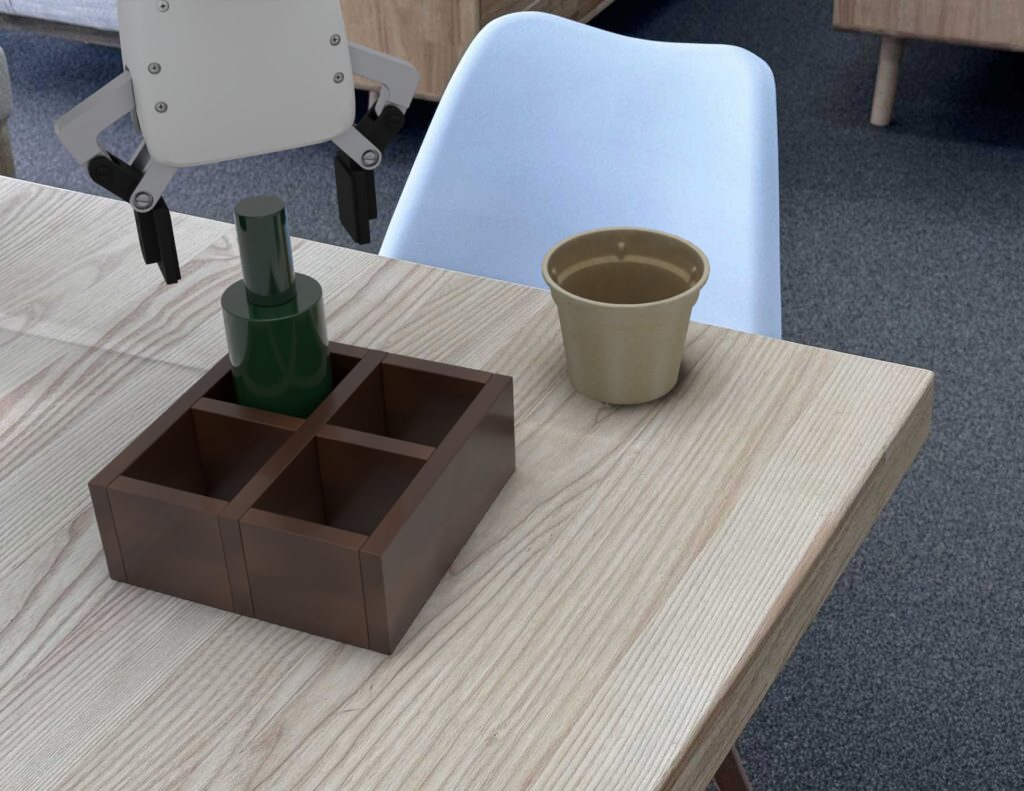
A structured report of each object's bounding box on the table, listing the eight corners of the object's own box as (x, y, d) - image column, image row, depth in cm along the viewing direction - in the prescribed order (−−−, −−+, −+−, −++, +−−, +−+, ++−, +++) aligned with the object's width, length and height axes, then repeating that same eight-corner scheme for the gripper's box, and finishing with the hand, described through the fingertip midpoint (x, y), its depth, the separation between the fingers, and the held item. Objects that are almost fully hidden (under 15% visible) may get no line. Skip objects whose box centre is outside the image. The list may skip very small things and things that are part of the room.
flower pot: (697, 444, 79) (705, 310, 74) (532, 431, 80) (529, 299, 75) (706, 356, 86) (714, 230, 82) (555, 346, 88) (554, 222, 83)
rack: (109, 578, 70) (86, 482, 67) (268, 414, 82) (255, 325, 79) (390, 655, 65) (380, 555, 62) (516, 467, 77) (513, 376, 74)
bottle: (230, 484, 77) (185, 220, 68) (278, 433, 81) (241, 177, 72) (314, 504, 75) (278, 236, 66) (358, 451, 79) (330, 191, 70)
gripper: (378, -137, 67) (401, 192, 76) (2, -93, 61) (77, 255, 71) (433, -101, 61) (450, 250, 70) (23, -49, 55) (102, 324, 65)
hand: (263, 252), depth 70 cm, fingers open, 9 cm apart
